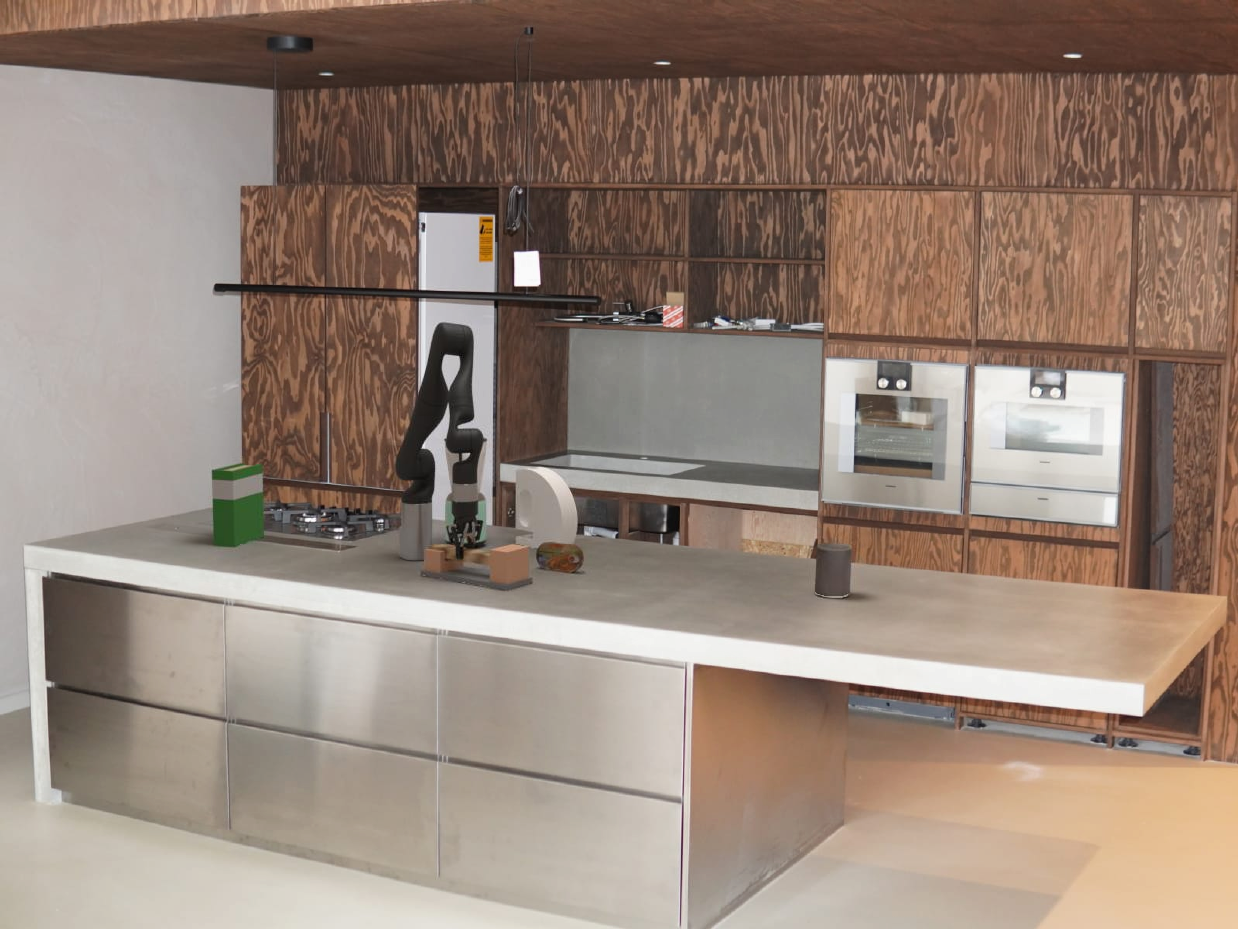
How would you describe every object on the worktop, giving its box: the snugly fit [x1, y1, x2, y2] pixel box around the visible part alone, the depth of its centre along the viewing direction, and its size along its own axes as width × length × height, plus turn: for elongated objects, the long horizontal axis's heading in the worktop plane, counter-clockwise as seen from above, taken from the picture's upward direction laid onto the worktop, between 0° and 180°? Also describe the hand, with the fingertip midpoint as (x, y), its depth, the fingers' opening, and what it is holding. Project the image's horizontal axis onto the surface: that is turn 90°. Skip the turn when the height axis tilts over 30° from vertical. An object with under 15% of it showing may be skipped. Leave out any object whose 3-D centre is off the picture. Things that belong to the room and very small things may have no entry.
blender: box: [443, 437, 488, 549], centre depth 444 cm, size 19×13×35 cm
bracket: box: [515, 466, 578, 549], centre depth 444 cm, size 7×21×25 cm, turn 48°
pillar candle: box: [814, 541, 853, 596], centre depth 386 cm, size 10×10×15 cm
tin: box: [535, 542, 585, 574], centre depth 413 cm, size 15×3×8 cm, turn 62°
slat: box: [429, 543, 490, 567], centre depth 401 cm, size 24×4×3 cm, turn 56°
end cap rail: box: [420, 543, 533, 591], centre depth 399 cm, size 31×12×10 cm, turn 56°
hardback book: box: [211, 462, 265, 548], centre depth 448 cm, size 18×7×24 cm, turn 164°
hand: (465, 557), depth 401 cm, fingers closed on slat, 4 cm apart
